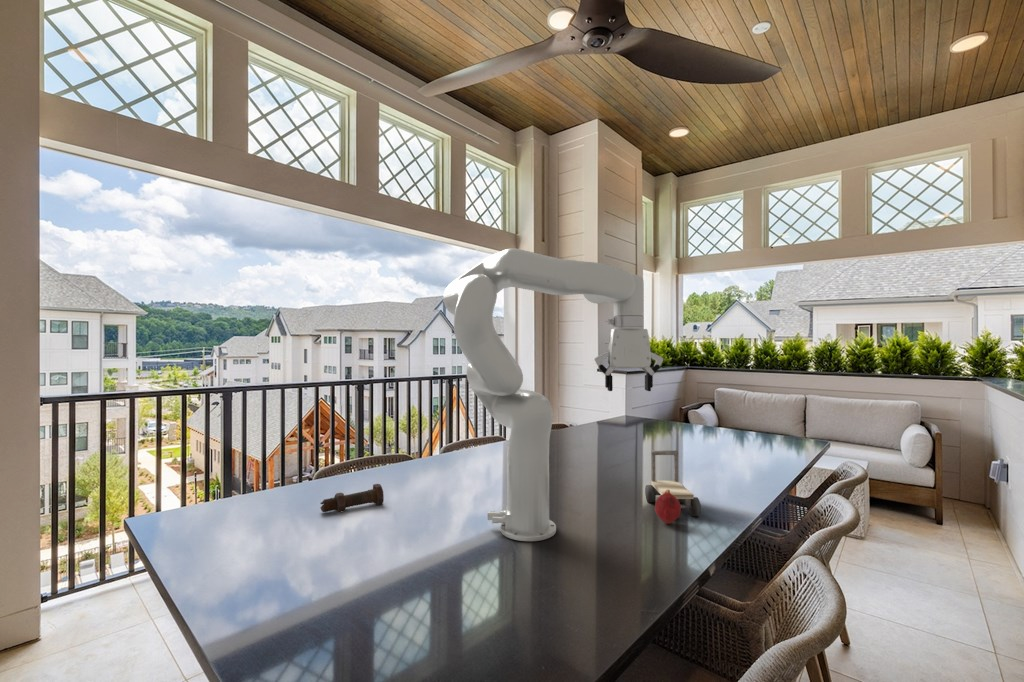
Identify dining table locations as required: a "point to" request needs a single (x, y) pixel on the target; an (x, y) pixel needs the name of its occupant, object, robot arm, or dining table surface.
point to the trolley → (671, 486)
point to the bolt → (353, 499)
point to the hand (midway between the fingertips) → (628, 390)
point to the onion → (667, 507)
